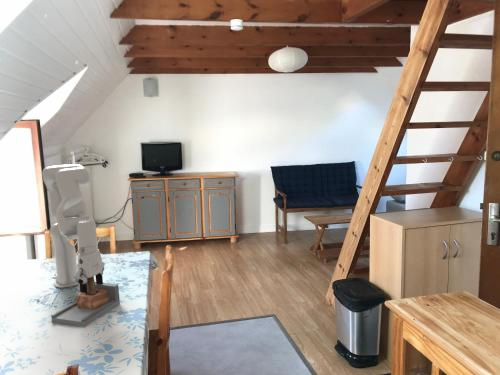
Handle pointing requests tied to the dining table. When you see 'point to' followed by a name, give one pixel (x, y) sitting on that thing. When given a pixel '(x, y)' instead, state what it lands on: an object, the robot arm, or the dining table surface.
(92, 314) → the grey open tray
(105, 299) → the block
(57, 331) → the dining table surface
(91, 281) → the dowel
